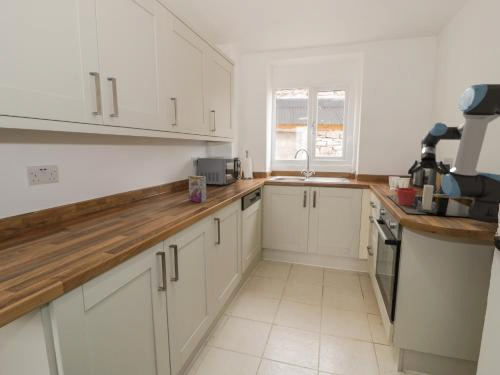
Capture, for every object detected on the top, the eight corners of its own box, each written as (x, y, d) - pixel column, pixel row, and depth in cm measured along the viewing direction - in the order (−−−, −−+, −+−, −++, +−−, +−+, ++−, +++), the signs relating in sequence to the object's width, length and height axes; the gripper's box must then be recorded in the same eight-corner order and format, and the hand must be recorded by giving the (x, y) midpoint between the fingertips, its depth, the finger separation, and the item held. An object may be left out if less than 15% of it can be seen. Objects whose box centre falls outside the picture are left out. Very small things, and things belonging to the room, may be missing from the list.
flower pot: (419, 206, 163) (421, 190, 162) (401, 206, 163) (402, 190, 162) (409, 202, 174) (411, 187, 172) (392, 202, 174) (393, 187, 172)
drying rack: (434, 210, 153) (435, 201, 152) (436, 213, 146) (437, 204, 146) (416, 208, 157) (417, 200, 156) (416, 211, 151) (417, 202, 150)
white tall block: (429, 207, 153) (432, 185, 151) (430, 209, 148) (433, 186, 146) (421, 206, 155) (424, 184, 153) (422, 209, 150) (424, 186, 148)
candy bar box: (188, 200, 175) (187, 175, 173) (194, 199, 179) (193, 175, 177) (201, 203, 169) (200, 177, 167) (206, 201, 173) (206, 176, 171)
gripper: (452, 161, 161) (453, 189, 150) (404, 159, 172) (402, 185, 162) (455, 152, 155) (456, 181, 145) (405, 151, 167) (403, 178, 156)
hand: (427, 183), depth 153 cm, fingers open, 13 cm apart
